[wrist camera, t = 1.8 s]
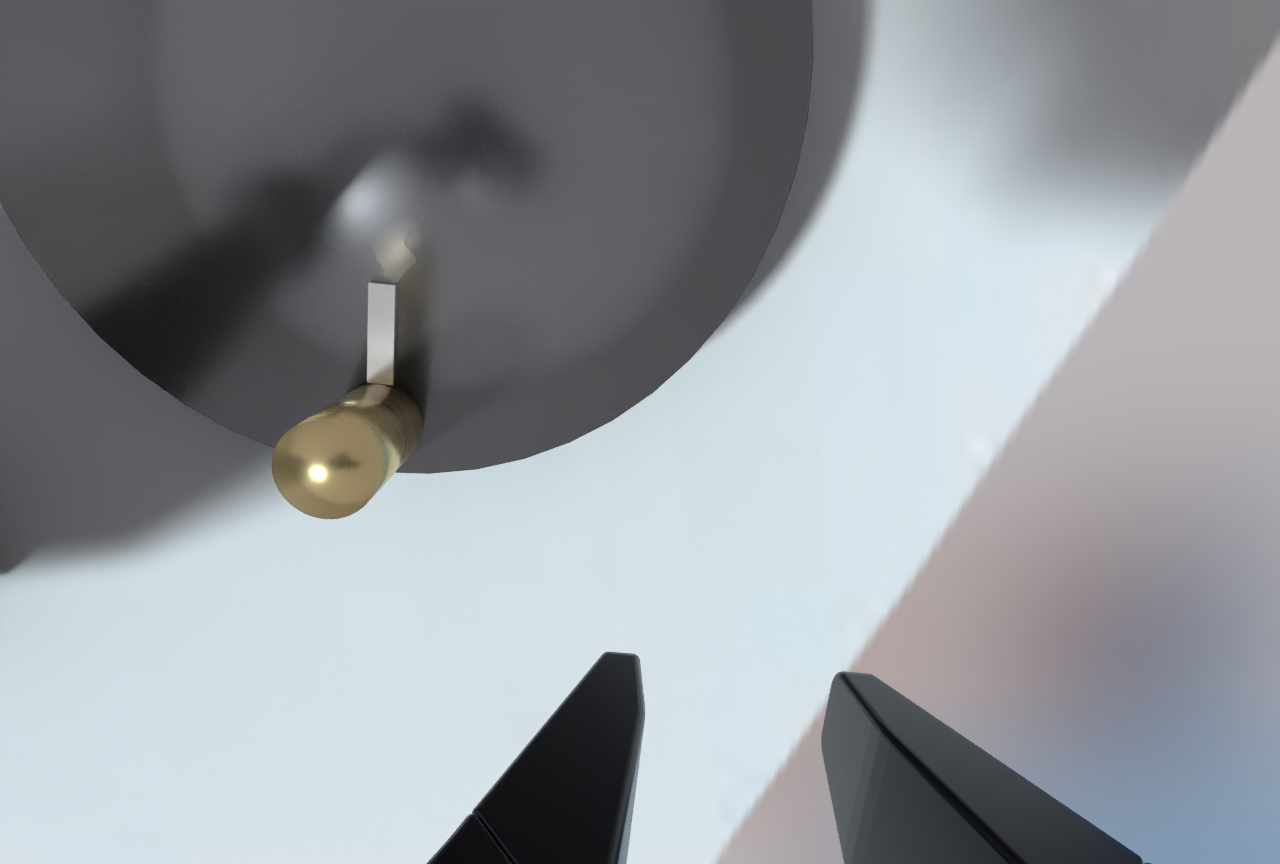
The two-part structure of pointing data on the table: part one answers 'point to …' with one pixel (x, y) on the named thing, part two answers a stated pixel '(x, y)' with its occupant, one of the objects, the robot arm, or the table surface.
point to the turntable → (401, 208)
